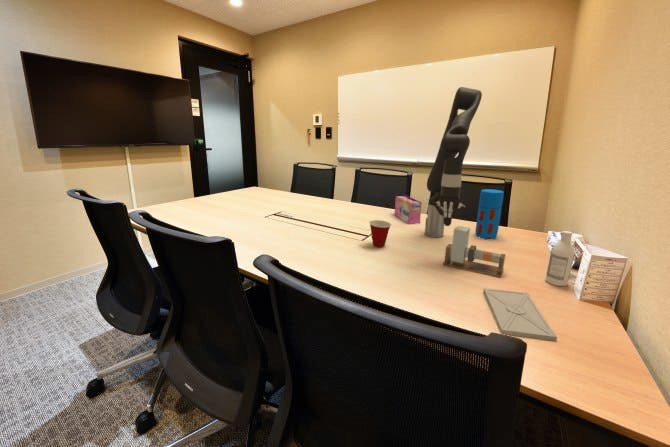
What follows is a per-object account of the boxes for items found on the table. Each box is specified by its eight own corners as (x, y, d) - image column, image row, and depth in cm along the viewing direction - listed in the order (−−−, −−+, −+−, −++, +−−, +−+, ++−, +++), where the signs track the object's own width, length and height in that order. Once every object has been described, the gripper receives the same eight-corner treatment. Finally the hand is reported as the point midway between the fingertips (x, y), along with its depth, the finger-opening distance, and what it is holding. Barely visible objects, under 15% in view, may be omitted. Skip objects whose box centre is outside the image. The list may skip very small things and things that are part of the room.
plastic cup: (389, 250, 149) (391, 226, 146) (367, 248, 151) (368, 224, 148) (390, 242, 159) (392, 220, 156) (369, 241, 161) (370, 219, 158)
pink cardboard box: (393, 214, 214) (394, 195, 210) (403, 214, 215) (405, 194, 211) (408, 224, 191) (410, 202, 187) (420, 223, 193) (422, 202, 189)
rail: (443, 265, 133) (444, 248, 130) (448, 258, 140) (450, 242, 138) (500, 277, 121) (503, 260, 119) (503, 269, 128) (506, 252, 126)
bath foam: (556, 277, 121) (567, 228, 116) (572, 285, 115) (584, 234, 109) (540, 279, 120) (551, 229, 114) (556, 287, 114) (567, 235, 108)
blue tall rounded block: (499, 240, 163) (506, 193, 156) (477, 239, 165) (484, 192, 158) (493, 234, 173) (500, 189, 166) (473, 232, 175) (479, 188, 168)
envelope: (500, 335, 88) (555, 343, 85) (502, 329, 87) (557, 336, 84) (483, 293, 110) (526, 297, 107) (483, 287, 109) (527, 292, 106)
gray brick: (467, 261, 128) (468, 248, 127) (469, 256, 133) (471, 245, 131) (472, 262, 127) (474, 249, 126) (474, 257, 132) (476, 245, 130)
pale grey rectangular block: (450, 260, 132) (454, 229, 128) (454, 255, 137) (457, 225, 133) (462, 263, 129) (466, 231, 125) (466, 258, 134) (470, 227, 130)
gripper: (470, 185, 127) (465, 225, 132) (437, 182, 134) (434, 221, 139) (466, 187, 121) (461, 230, 126) (432, 184, 128) (429, 225, 133)
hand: (447, 225), depth 132 cm, fingers closed
